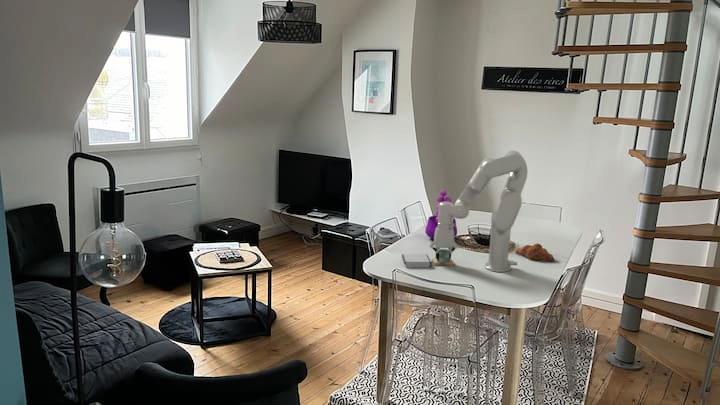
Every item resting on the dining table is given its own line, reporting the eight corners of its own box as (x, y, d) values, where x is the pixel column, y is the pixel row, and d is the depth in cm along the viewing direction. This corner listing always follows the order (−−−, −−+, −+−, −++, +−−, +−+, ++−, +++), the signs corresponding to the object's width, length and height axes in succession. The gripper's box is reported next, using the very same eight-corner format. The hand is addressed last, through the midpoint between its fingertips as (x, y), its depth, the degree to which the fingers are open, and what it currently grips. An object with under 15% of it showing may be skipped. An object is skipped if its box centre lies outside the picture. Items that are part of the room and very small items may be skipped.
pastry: (523, 262, 278) (524, 247, 276) (514, 252, 293) (515, 239, 291) (554, 262, 278) (556, 248, 276) (544, 253, 293) (546, 239, 291)
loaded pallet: (451, 261, 276) (452, 248, 274) (453, 265, 270) (454, 252, 268) (432, 261, 275) (433, 248, 274) (434, 265, 269) (435, 252, 268)
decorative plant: (455, 235, 323) (458, 187, 316) (457, 244, 305) (461, 194, 298) (424, 233, 324) (427, 186, 317) (425, 242, 306) (427, 192, 299)
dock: (427, 259, 278) (427, 254, 277) (430, 267, 266) (431, 261, 266) (401, 259, 277) (401, 253, 277) (404, 267, 266) (404, 261, 265)
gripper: (460, 224, 272) (457, 257, 276) (427, 223, 271) (425, 257, 275) (463, 228, 264) (461, 262, 269) (429, 227, 264) (427, 262, 268)
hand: (443, 259), depth 272 cm, fingers closed on loaded pallet, 5 cm apart
